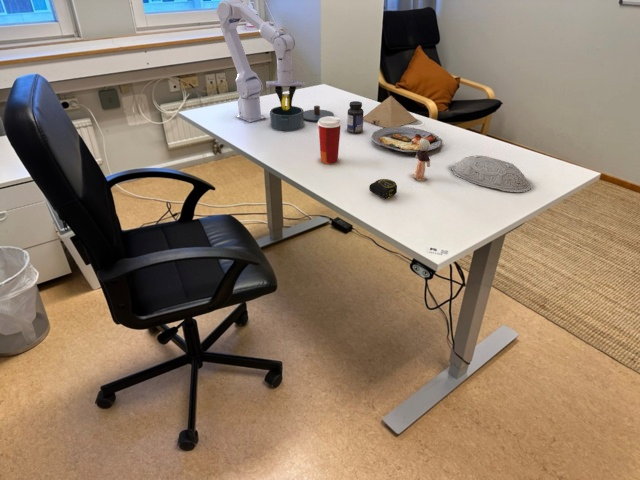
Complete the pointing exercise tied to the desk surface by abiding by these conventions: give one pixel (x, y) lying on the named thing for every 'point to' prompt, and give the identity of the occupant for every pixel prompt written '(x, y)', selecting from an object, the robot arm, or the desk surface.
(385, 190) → the tape measure
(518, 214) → the desk surface
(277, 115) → the pot
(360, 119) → the pill bottle
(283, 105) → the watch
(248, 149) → the desk surface
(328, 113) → the lid
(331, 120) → the paper cup
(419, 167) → the grandmother figurine
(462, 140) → the desk surface
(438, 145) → the food plate
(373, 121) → the model pyramid
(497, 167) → the grey oval dome
